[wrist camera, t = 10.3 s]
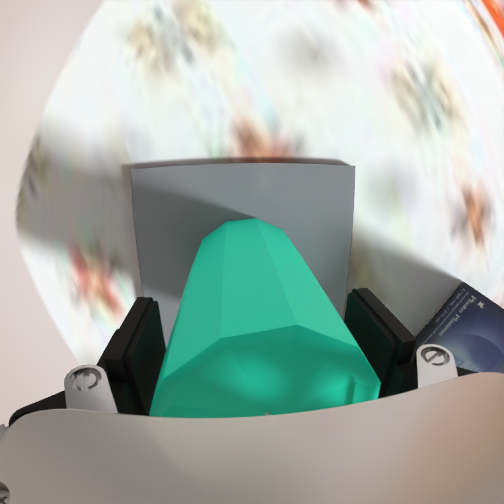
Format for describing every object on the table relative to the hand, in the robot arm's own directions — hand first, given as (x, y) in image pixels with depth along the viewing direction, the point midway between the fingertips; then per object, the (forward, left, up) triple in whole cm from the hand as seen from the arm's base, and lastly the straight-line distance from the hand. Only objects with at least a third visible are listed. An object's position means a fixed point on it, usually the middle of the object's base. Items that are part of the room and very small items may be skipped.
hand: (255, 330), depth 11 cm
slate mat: (0, 0, -6) cm, 6 cm away
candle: (0, 0, -6) cm, 6 cm away
